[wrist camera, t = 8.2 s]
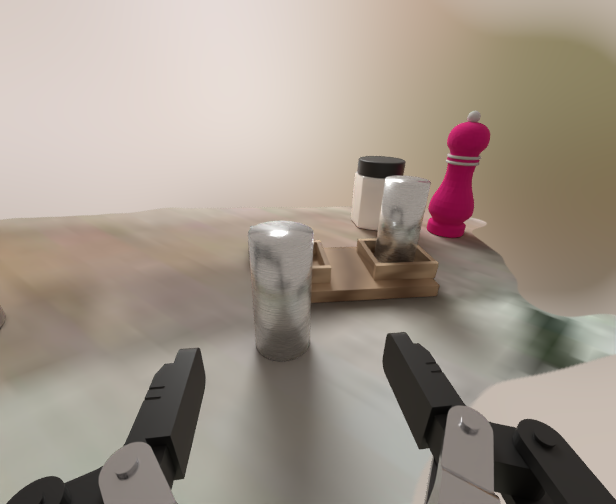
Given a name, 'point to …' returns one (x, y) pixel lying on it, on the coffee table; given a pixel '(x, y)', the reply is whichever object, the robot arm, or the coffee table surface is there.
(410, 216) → the seated billet
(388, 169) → the jar
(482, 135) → the pepper mill
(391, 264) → the wooden tray
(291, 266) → the cylinder
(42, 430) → the coffee table surface
